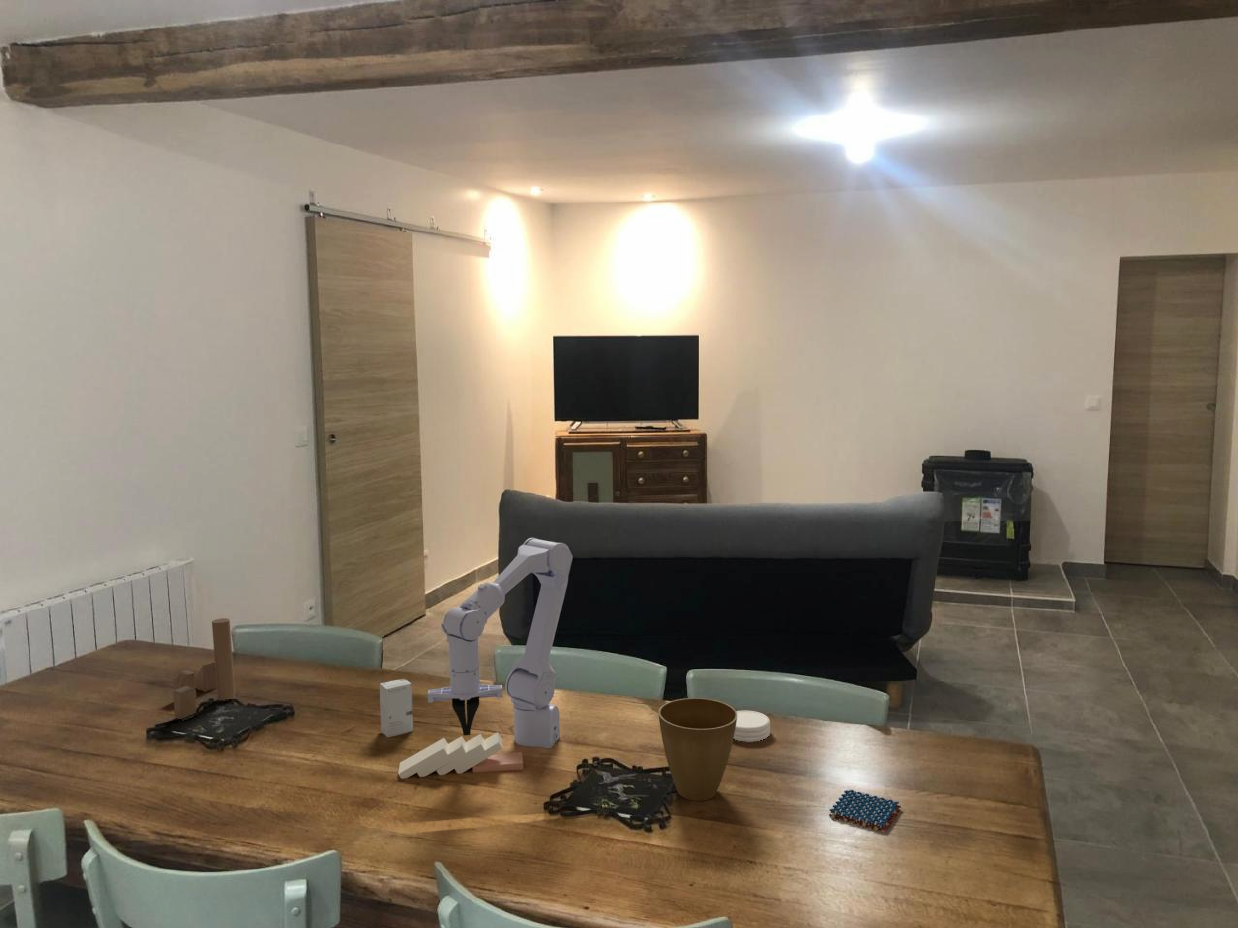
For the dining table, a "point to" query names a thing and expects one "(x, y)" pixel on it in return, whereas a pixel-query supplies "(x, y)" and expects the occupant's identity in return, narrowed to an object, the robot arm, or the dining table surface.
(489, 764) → the end domino
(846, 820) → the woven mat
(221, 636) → the wooden blocks
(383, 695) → the skincare box
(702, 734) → the plant pot
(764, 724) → the white round disc
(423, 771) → the domino
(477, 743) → the domino
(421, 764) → the domino
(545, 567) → the robot arm
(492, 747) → the domino
